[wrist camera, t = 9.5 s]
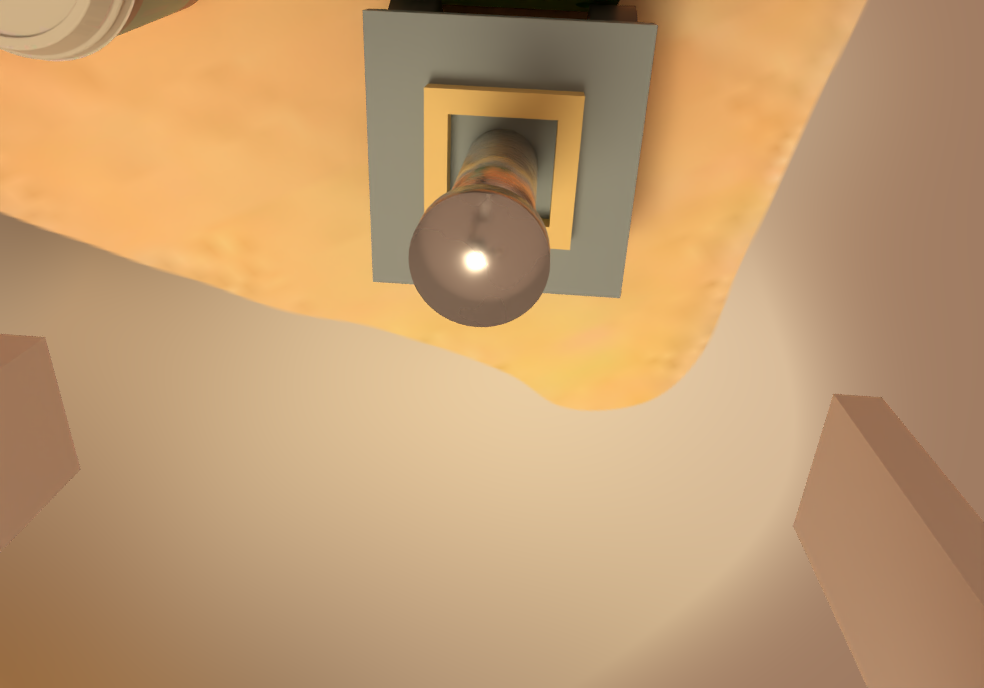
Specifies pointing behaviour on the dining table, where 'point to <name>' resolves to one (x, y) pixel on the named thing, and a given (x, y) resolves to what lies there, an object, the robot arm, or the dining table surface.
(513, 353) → the dining table surface
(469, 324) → the pin
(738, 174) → the dining table surface
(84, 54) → the coffee cup
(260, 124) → the dining table surface
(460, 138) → the toy cart
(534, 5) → the clamp
